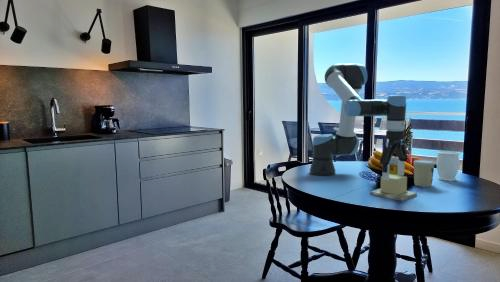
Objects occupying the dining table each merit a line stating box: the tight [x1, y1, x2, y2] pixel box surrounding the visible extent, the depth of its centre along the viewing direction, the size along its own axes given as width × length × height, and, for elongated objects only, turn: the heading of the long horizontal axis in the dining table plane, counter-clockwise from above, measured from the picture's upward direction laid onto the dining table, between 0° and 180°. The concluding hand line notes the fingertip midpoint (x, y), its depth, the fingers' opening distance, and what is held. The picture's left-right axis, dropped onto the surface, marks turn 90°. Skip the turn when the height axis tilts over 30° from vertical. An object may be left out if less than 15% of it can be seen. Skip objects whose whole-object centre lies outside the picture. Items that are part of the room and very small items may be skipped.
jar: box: [435, 150, 460, 182], centre depth 178 cm, size 11×10×15 cm
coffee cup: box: [413, 159, 435, 188], centre depth 167 cm, size 9×9×12 cm
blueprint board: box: [370, 187, 418, 202], centre depth 149 cm, size 15×13×1 cm
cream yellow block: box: [380, 174, 408, 195], centre depth 149 cm, size 8×8×7 cm
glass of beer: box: [388, 156, 402, 176], centre depth 162 cm, size 6×6×15 cm
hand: (393, 177), depth 149 cm, fingers open, 13 cm apart
